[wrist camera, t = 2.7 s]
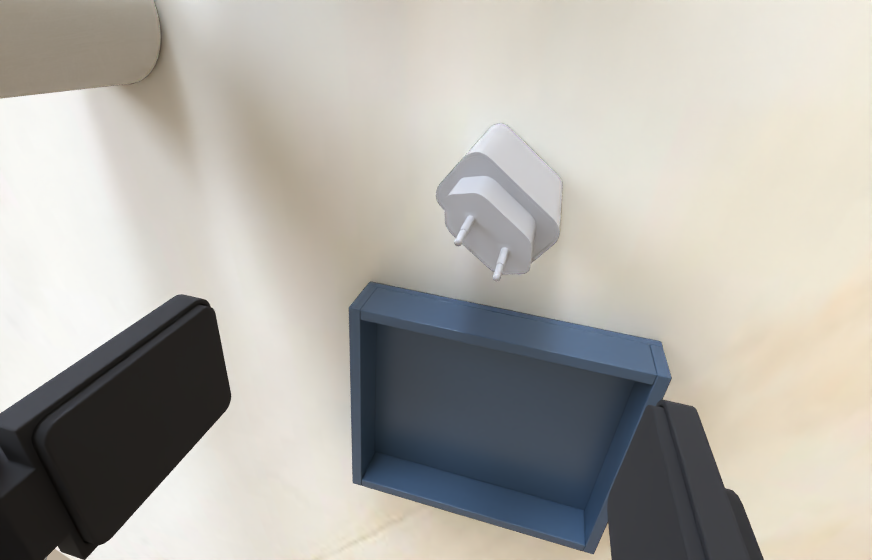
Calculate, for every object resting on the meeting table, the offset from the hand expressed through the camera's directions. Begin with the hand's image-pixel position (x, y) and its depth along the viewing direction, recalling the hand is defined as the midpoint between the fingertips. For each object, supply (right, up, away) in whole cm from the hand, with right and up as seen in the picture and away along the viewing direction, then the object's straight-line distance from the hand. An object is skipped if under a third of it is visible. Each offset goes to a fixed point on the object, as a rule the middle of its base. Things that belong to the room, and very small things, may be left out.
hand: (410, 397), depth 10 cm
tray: (+5, -7, +25) cm, 26 cm away
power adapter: (+5, +9, +16) cm, 19 cm away
